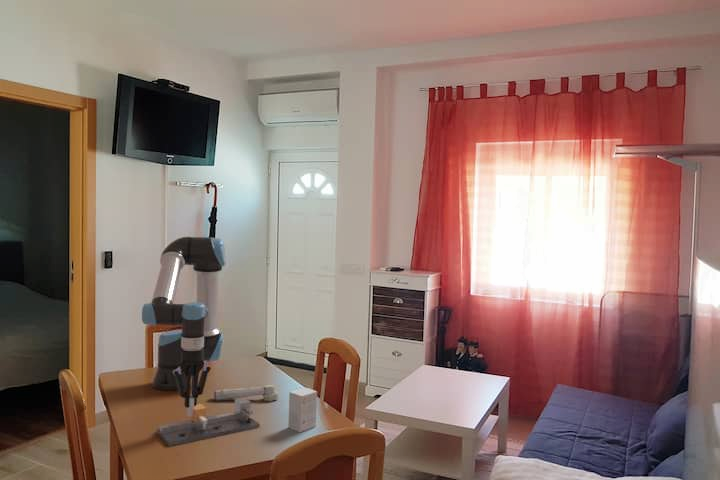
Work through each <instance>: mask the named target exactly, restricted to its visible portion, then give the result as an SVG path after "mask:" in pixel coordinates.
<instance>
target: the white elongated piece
mask: <svg viewBox="0 0 720 480" xmlns="http://www.w3.org/2000/svg"><path fill="white" fill-rule="evenodd" d="M276 389H277V388H276V386H275V384H266V385H265V386H255V387H243V388H240V387H239V388H229V389H226V388H222V389H219V390H214V392H213V396H214V397H213V398H214V401H215V402H216V401H227V400H235V399H242V398H247V397H256V396H262V397H263V401H264V402H273V401H277V400H278V399H279V397H278V395H279V390H278V391H277V390H276Z"/></svg>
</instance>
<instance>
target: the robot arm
mask: <svg viewBox="0 0 720 480" xmlns="http://www.w3.org/2000/svg"><path fill="white" fill-rule="evenodd" d="M159 262H160V270H159V273H158V277H157V281H156V283H155V288H154V292H153V296H152V299H151V302H149V303H145V304H144V305H143V306H142V310H141V321H142V323H143V324H144V325H151V326H181V329H173V330H166V331H165V332H162V333H161V334H160V335H159V337H158V342H157V347H158V348H157V369H156V371H155V374H154V376H153V379H152V387H153V388H154V389H156V390H160V391H176V390H177V392H178V395H179V396H180V397H181V398H184V402H183V403H184V407H185V408H186V416H187V417H188V418H190V417H194V406H196V405H197V402H198V400H197V399H198V398H199V396H200V395H201V396H202V395H203V392H204V389H205V386H206V382H207V381H206V380H207V378H208V374H209V372H210V371H211V369H212V368H211V367H210V366H209V365H206V364H205V362H208V363H210V362H217V361H218V360H220V359H221V358H220V357H221V352H222V346H223V342H224V334H223V333H221V329H220V328H219V327H218V296H219V295H218V294H219V293H218V290H219V287H218V286H219V274H220V272H221V271H222V270H223V267H225V266H226V248H225V242H224V241H223V239H221V238H218V237H213V236H212V237H208V236H207V237H200V236H196V237H195V236H192V237H191V236H182V237H179V238H177V239H175V240H173V241H172V242H171V243H169V244H168V245H167V246H166V247H165V248H164V250H163V251H162V252H161V255H160V259H159ZM185 265H187V266H193V271H194V272H195V273H196V302H186V303H174V302H175V297H176V295H177V294H176V292H177V289H178V284H179V280H180V275H181V271H182V270H183V268H184V267H185ZM200 372H201V374H200ZM199 374H200V378H199Z"/></svg>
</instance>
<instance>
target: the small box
mask: <svg viewBox="0 0 720 480" xmlns="http://www.w3.org/2000/svg"><path fill="white" fill-rule="evenodd" d="M288 401H289V402H288V426H287V427H288V429H289V430H290V429H291V430H293V431H295V432H298V433H302V432H305V431H308V430H310V429H312V428H315V427H317V410H318V409H317V406H318V402H317V401H318V391H317V390H314V389H312V388H309V387H302V388H299V389H296V390H295V389H294V390H292V391H289V397H288Z"/></svg>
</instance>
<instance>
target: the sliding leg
mask: <svg viewBox="0 0 720 480" xmlns="http://www.w3.org/2000/svg"><path fill="white" fill-rule="evenodd" d="M206 417H207V407H206V406H205V405H204V404H202V403H198V404H197V405H196V406H194V417H189V419H190V420H192V421H193V422H194V423H196V422H201V423H203V430H205V429H206V424H207V419H206Z"/></svg>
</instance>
